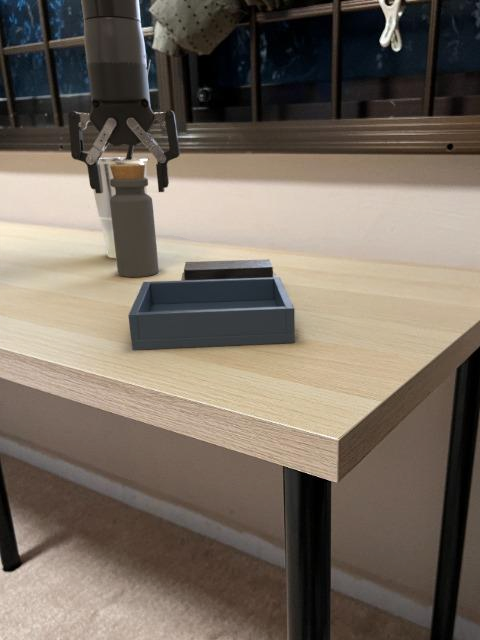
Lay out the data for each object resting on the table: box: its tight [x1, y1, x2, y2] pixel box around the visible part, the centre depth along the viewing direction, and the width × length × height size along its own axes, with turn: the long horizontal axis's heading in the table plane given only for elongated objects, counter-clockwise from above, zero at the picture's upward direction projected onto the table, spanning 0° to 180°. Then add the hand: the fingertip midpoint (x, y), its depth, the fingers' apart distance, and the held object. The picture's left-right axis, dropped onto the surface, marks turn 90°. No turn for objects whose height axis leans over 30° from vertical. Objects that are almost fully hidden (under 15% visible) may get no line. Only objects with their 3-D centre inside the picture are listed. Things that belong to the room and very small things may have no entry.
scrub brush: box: [180, 258, 277, 281], centre depth 78 cm, size 12×6×4 cm, turn 97°
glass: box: [92, 57, 151, 260], centre depth 97 cm, size 11×11×30 cm
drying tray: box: [128, 276, 296, 351], centre depth 64 cm, size 16×14×4 cm
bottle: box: [110, 164, 159, 278], centre depth 87 cm, size 6×6×15 cm
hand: (131, 192), depth 85 cm, fingers open, 8 cm apart
